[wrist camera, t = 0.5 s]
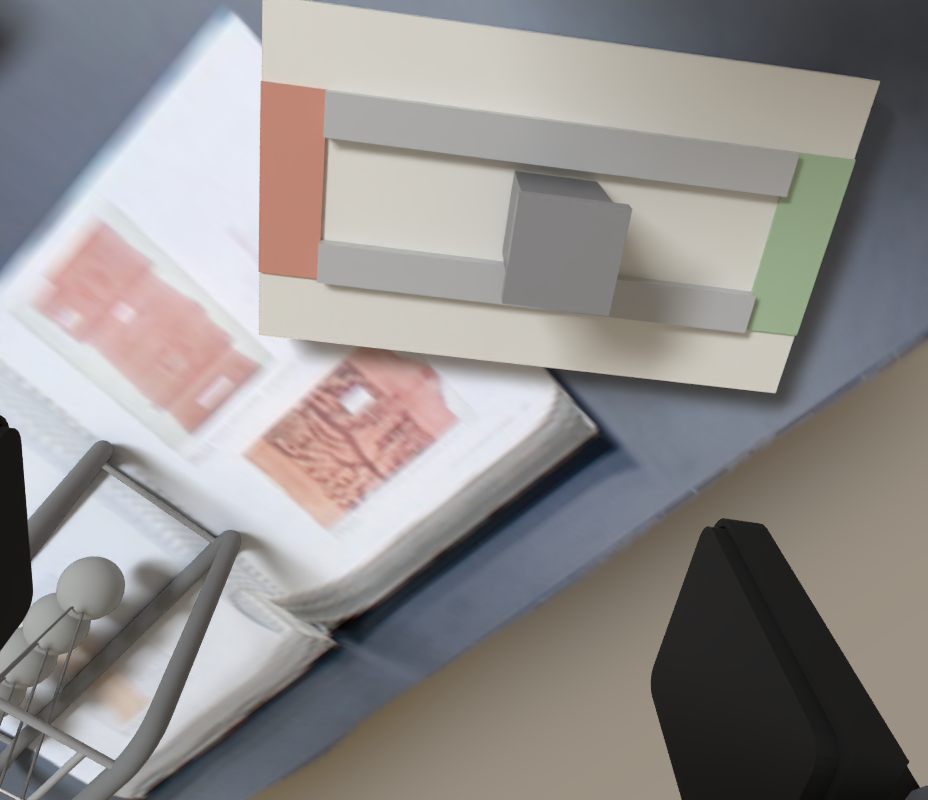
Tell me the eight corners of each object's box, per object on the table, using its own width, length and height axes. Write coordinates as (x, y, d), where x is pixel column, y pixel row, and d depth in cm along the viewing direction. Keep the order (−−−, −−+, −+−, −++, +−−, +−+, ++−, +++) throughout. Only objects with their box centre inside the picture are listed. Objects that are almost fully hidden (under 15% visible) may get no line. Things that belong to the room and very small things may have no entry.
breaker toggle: (509, 163, 38) (518, 194, 31) (604, 176, 38) (632, 208, 32) (495, 257, 40) (502, 303, 34) (585, 268, 40) (608, 316, 34)
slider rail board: (276, -5, 37) (258, -6, 34) (851, 75, 39) (888, 82, 36) (271, 314, 44) (255, 340, 41) (756, 370, 46) (780, 399, 43)
